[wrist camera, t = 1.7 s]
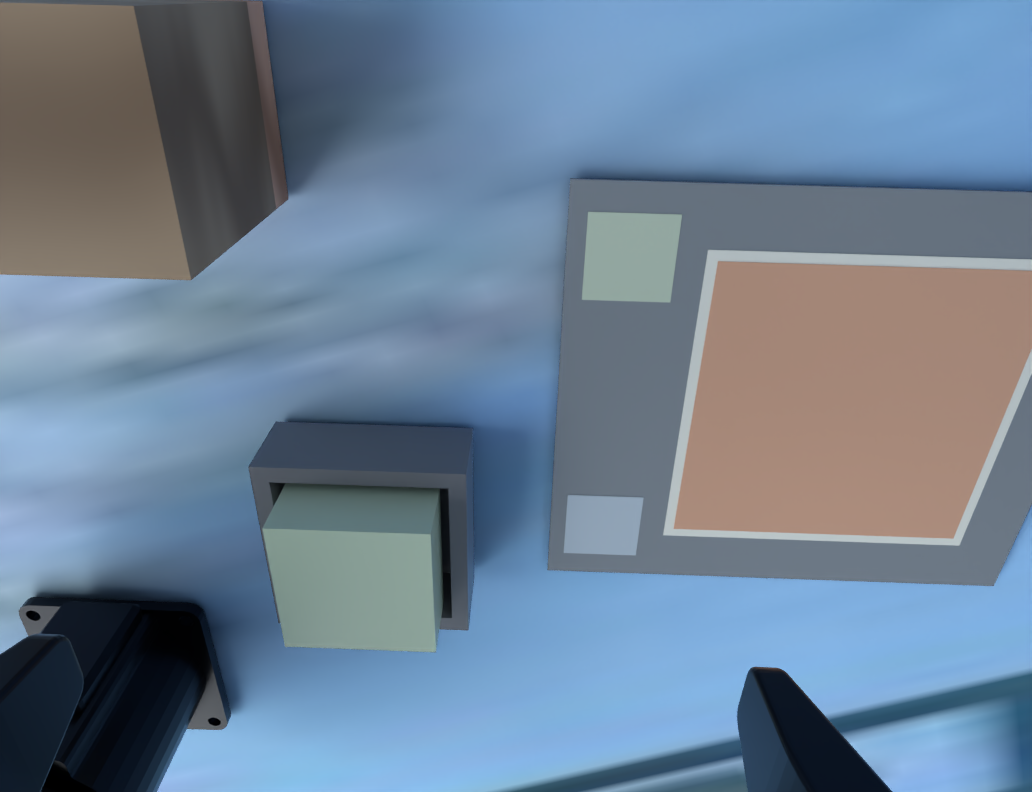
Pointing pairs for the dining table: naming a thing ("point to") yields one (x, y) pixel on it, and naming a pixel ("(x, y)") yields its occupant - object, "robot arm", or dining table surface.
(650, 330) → the picture mat
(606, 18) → the dining table surface
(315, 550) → the button
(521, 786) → the dining table surface
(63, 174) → the block
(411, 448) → the button housing
